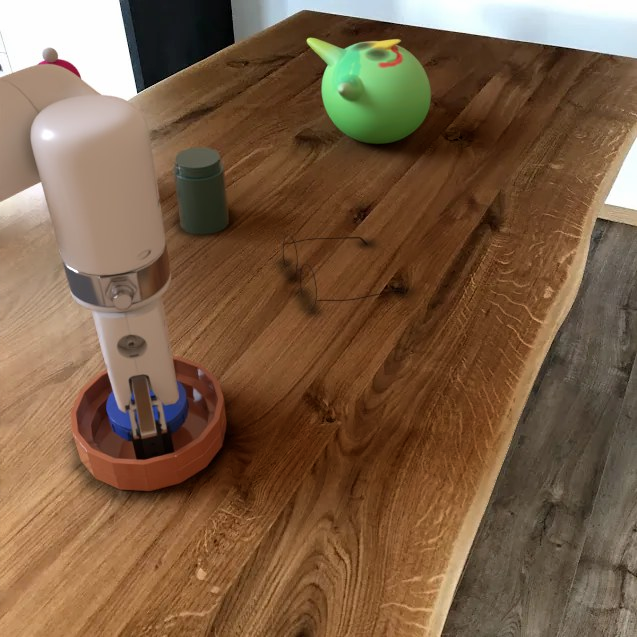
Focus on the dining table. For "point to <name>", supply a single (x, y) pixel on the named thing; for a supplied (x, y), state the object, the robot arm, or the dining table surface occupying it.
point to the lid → (172, 412)
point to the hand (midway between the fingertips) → (151, 426)
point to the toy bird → (373, 89)
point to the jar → (201, 190)
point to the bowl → (118, 454)
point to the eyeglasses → (313, 273)
